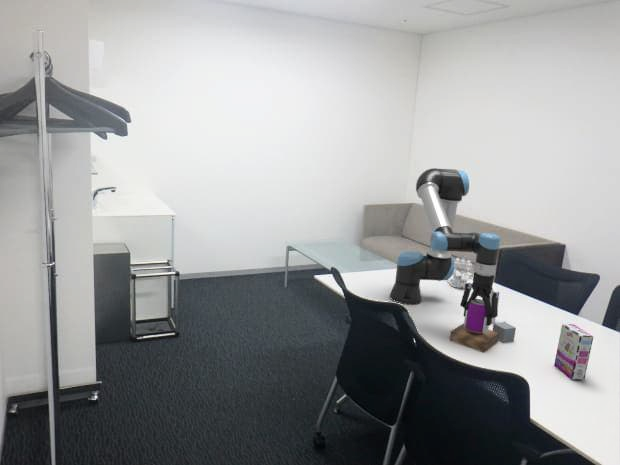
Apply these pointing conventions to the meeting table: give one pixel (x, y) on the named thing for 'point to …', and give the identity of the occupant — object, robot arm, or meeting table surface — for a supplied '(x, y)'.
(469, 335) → the walnut block
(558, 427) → the meeting table surface
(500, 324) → the grey block
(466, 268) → the silvery white figurine
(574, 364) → the candy bar box
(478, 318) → the beverage can
